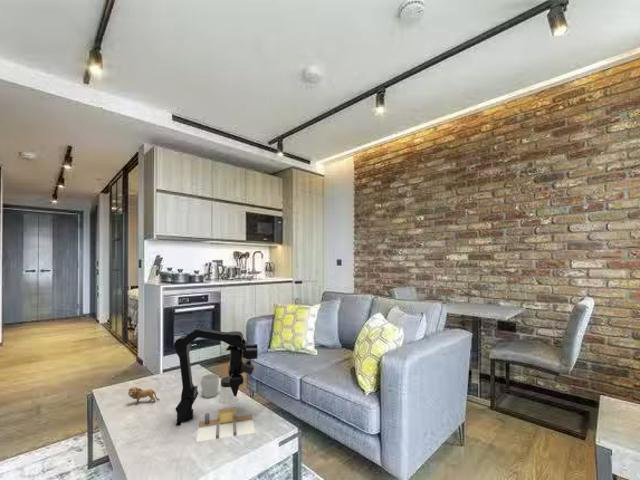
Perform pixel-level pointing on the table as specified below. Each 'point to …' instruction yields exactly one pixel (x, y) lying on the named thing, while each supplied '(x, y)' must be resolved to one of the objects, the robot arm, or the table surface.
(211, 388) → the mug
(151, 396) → the lion figurine
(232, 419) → the bar
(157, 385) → the table surface
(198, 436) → the door board
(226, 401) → the jar
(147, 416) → the table surface
